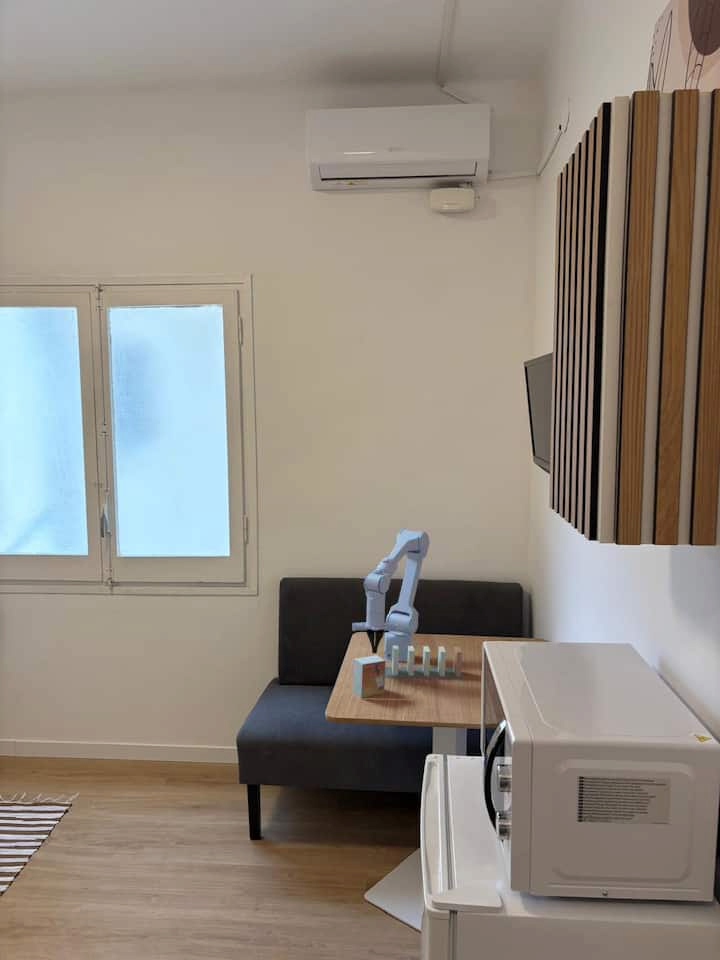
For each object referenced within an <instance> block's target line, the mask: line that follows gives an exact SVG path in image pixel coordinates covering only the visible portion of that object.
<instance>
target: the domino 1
mask: <svg viewBox="0 0 720 960" xmlns="http://www.w3.org/2000/svg"><path fill="white" fill-rule="evenodd" d="M399 663H400V661H399V649H398V646H393V653H392V661H391V667H392V672H393V675H398V667H399Z"/></svg>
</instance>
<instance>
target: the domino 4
mask: <svg viewBox="0 0 720 960" xmlns="http://www.w3.org/2000/svg"><path fill="white" fill-rule="evenodd" d="M437 655H438V656H437V658H438V659H437V668H438V672H439V675H440V676H445V668H446V662H447V661H446V659H447V658H446V657H447V651H446V649H445V647H444V646H438V653H437Z"/></svg>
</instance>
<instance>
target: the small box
mask: <svg viewBox="0 0 720 960" xmlns="http://www.w3.org/2000/svg"><path fill="white" fill-rule="evenodd" d="M385 667H386V661H385V659H383V658H382V657H381V656H379V655H377V654H375V655H370V656H365V657H355V658H354V659H353V679H352V680H353V683H352V692H354V693H355V694H356V695H357V696H358V697H359V698H360V699H364V698H368V697H374V696H378V695H379V696H380V695H383V694H385V684H386V678H385Z"/></svg>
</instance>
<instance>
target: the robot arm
mask: <svg viewBox="0 0 720 960" xmlns="http://www.w3.org/2000/svg"><path fill="white" fill-rule="evenodd" d="M430 541H431V540H430V538H429V535H428V532H426V531H416V530H409V529H405V528H402V529H400V530H399V531H398V534H397V535H396V544H395V546H394V547H393V548H392V551H391V553H390V554H389V555H388V556H387V557H384V558H382V560H381V561H380V563H379V564H378V565H377V567H376V568H375V570H374V571H373V572H371V573H369V574H367V575H365V577H364V581H363V588H364V590H365V596H366V622H352V627H351V628H352V631H353V632H355V631H366V635H367V637H368V640H369V642H370V647H371V653H372V654H378V648H379V645H380V643H381V640H382V639H383V636H384V648H383V655H384V660H385V662H392V653H393V646H398V649H399V662H402V663H403V662H406V663H408V646H413V645H412V643H413V635H414V634H415V633H416V632H417V630H418V626H419V614H420V613H419V612H418V611H417V610H416V608H415V607H414V602H415V598H416V597H415V596H416V592H417V587H418V584H419V579H420V576H421V575H420V574H421V569H422V565H423V561H424V558H427V555H428V552H429V548H430V547H429V546H430ZM405 555H406V557H407V562H406V566H405V570H404V575H403V580H402V585H401V587H400V588H401V589H400V592H399V597H398V601H397V603H395V604H394V605H392V606H391V607H390V610H389V613H388V614H387V615H386V614H385V613H386V612H385V607H386V604H385V603H386V592H387V591H388V590H389V588H390V583H391V582H392V581H391V579H392V577H393V576H394V575H395V573H396V572H397V571H398V568H399V567H398V563H399V562H400V561H401V560H402V559H403V558H404V556H405ZM385 615H386V619H385ZM386 631H388V632H386Z"/></svg>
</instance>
